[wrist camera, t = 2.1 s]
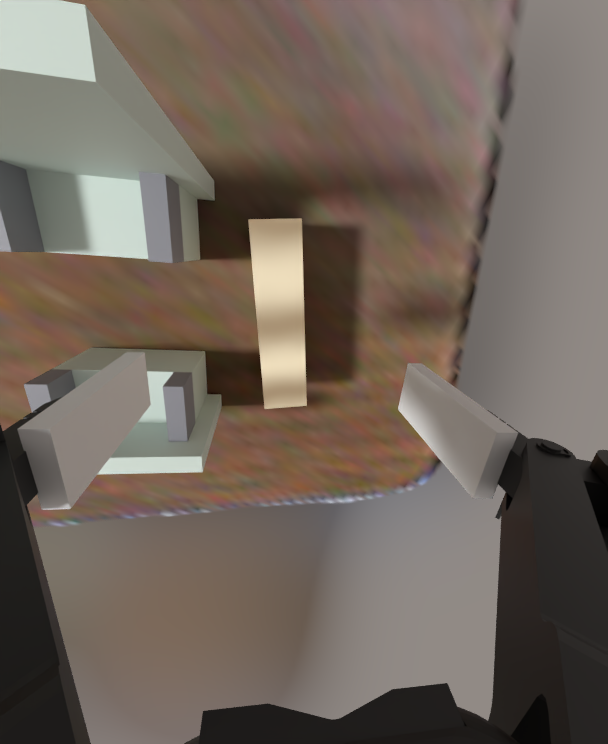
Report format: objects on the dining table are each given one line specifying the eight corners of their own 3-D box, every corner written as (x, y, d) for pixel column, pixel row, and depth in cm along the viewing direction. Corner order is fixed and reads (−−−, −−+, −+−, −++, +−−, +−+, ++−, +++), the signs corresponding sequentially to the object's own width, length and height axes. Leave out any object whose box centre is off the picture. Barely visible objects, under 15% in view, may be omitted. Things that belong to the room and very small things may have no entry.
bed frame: (34, 162, 24) (-733, -137, 6) (214, 181, 26) (84, 4, 7) (87, 405, 32) (-156, 613, 14) (221, 406, 34) (168, 590, 15)
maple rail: (251, 225, 28) (248, 219, 22) (294, 224, 28) (301, 218, 23) (264, 383, 34) (264, 408, 28) (300, 380, 34) (306, 405, 29)
